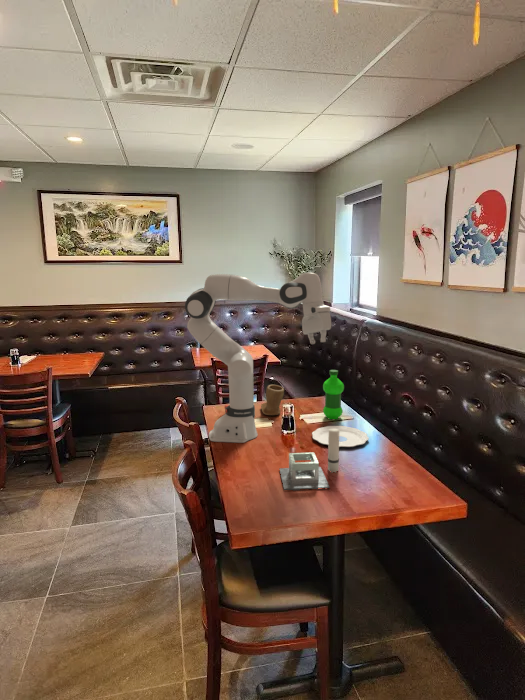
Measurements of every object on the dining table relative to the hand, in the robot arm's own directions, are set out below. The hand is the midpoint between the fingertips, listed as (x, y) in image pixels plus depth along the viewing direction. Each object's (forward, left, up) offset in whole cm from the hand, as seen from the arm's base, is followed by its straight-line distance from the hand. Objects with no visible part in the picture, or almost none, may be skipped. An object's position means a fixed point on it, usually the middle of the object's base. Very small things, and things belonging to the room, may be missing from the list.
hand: (317, 343), depth 187 cm
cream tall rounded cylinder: (+2, -26, -45) cm, 52 cm away
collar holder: (-11, -33, -45) cm, 57 cm away
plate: (+12, +5, -46) cm, 47 cm away
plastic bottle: (+15, +33, -45) cm, 58 cm away
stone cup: (-15, +45, -45) cm, 66 cm away
